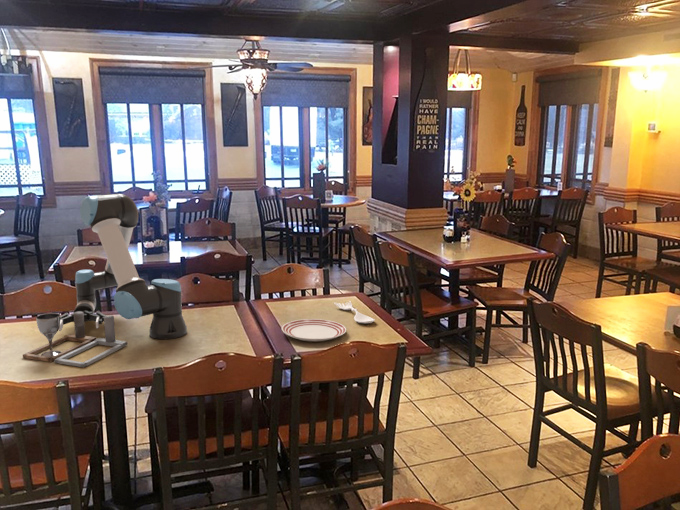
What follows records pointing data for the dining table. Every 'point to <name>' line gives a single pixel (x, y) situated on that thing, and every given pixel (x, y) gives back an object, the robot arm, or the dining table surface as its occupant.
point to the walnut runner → (77, 336)
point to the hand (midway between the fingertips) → (78, 326)
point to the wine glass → (49, 329)
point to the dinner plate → (313, 329)
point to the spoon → (358, 316)
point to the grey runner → (108, 341)
